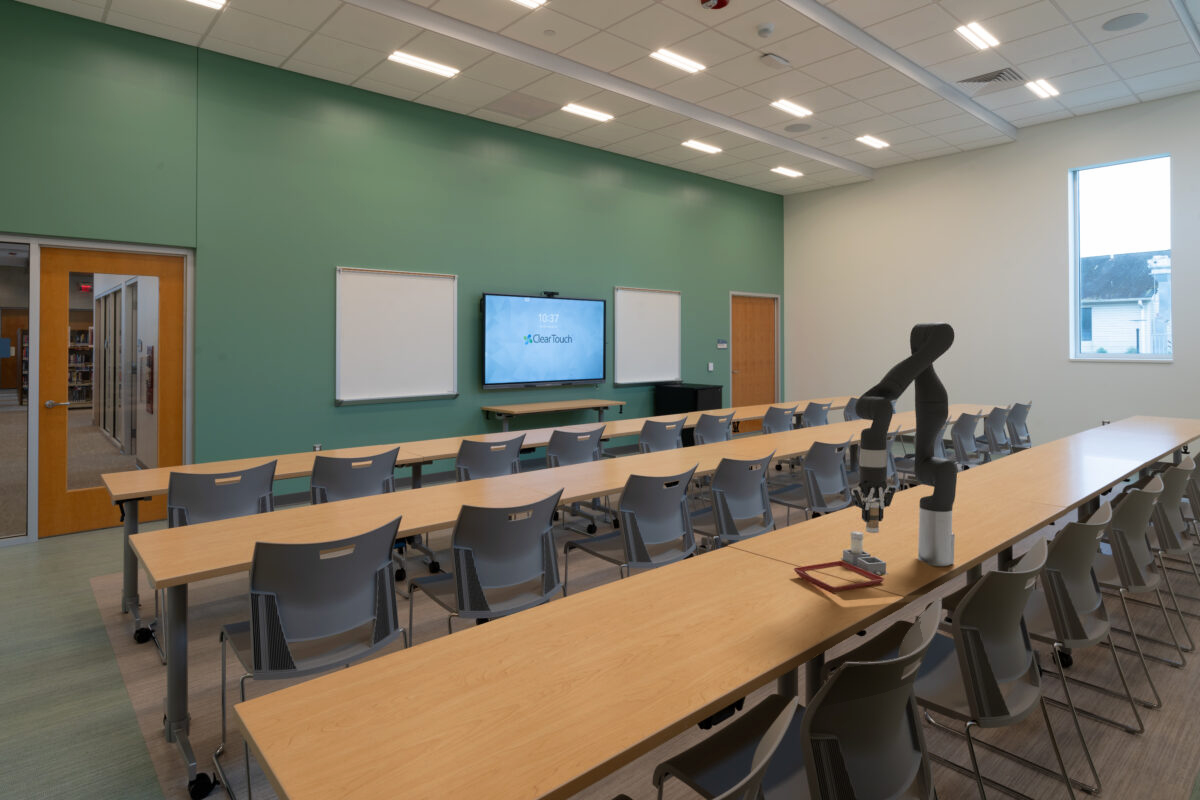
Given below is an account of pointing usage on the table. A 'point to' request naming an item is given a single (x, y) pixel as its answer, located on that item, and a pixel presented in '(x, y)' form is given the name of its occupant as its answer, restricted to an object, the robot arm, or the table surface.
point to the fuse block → (865, 562)
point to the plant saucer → (805, 576)
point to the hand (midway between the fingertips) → (872, 520)
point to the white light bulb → (856, 543)
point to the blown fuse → (873, 518)
